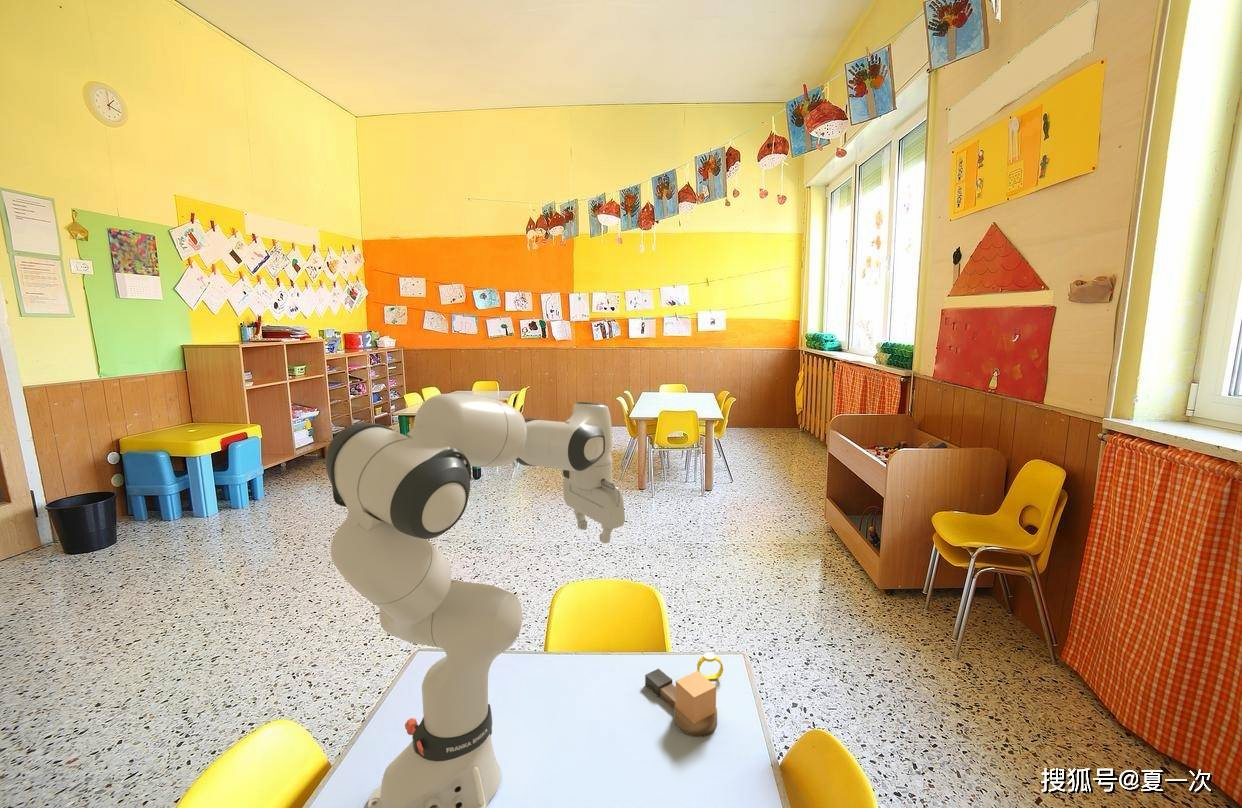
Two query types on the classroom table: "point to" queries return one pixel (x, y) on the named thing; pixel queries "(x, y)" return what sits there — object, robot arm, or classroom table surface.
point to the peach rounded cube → (695, 697)
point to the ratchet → (667, 692)
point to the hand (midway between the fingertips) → (593, 535)
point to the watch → (710, 658)
